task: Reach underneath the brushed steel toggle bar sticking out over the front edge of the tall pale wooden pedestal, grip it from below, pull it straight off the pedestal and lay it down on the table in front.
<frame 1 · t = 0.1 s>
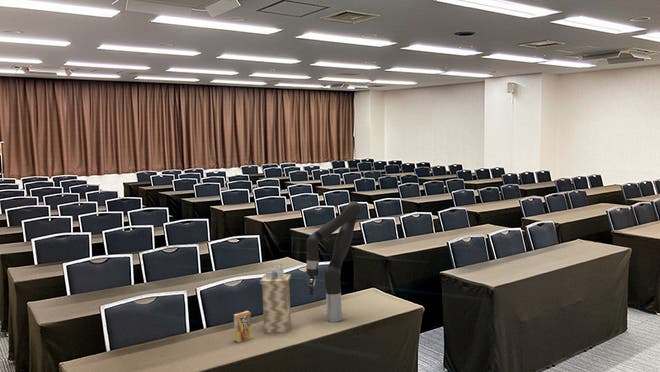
hand: (311, 292, 311), 17 cm above the table, tool pointing down, fingers open, 8 cm apart
candy box: (243, 339, 285), on the table
toggle bar: (277, 274, 304), point 31 cm above the table, touching pedestal
pedestal: (278, 328, 301), on the table
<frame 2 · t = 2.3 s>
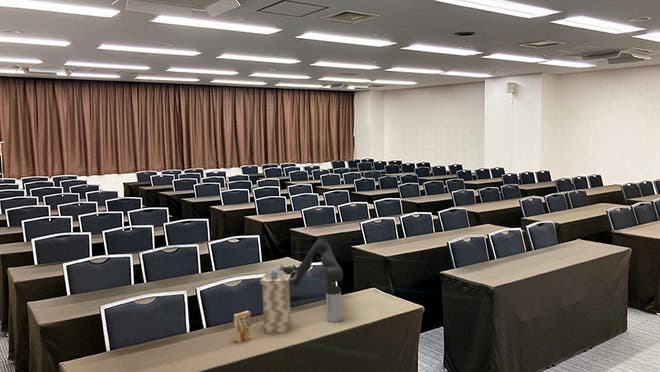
hand: (286, 266, 326), 30 cm above the table, tool pointing upward, fingers open, 8 cm apart
nothing on the table moved.
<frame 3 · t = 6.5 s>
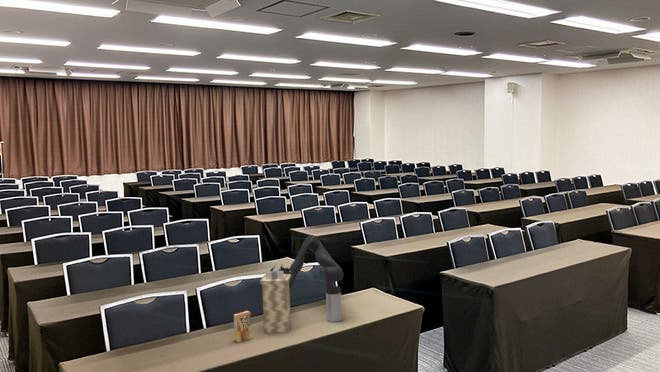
hand: (278, 267, 307), 34 cm above the table, tool pointing upward, fingers closed on toggle bar, 3 cm apart
toggle bar: (277, 274, 304), point 31 cm above the table, touching gripper, pedestal
everything else where it was.
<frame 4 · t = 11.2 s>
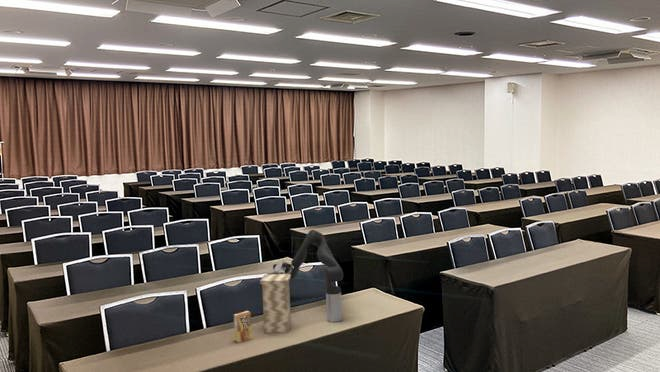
hand: (279, 265, 321), 33 cm above the table, tool pointing upward, fingers closed on toggle bar, 3 cm apart
toggle bar: (279, 272, 319), point 29 cm above the table, tilted 8°, touching gripper
everything else where it was.
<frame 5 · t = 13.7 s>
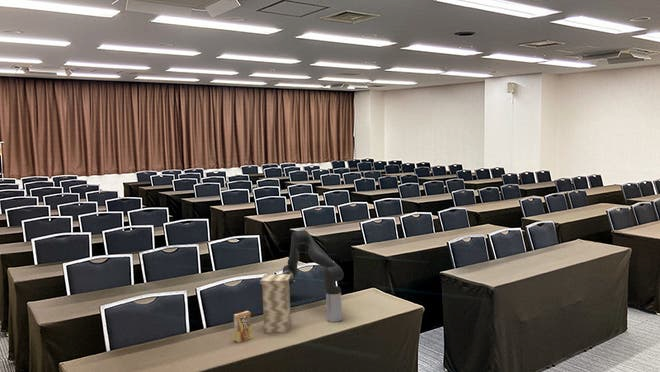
hand: (282, 284, 323), 20 cm above the table, tool horizontal, fingers closed on toggle bar, 3 cm apart
toggle bar: (282, 292, 322), point 15 cm above the table, tilted 31°, touching gripper
everything else where it was.
when the fingers open (11 cm above the table, at t = 15.9 s): toggle bar drops 6 cm, on the table.
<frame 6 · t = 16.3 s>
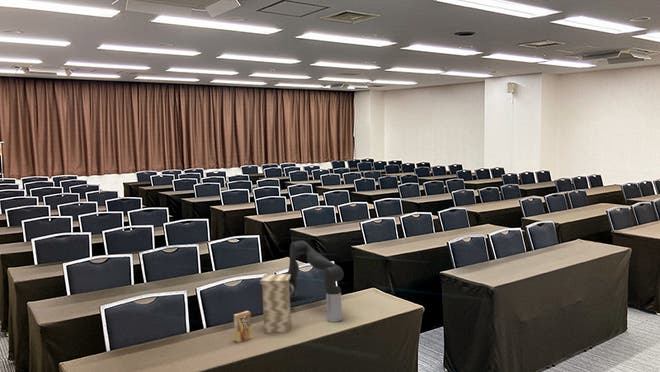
hand: (283, 297, 325), 11 cm above the table, tool horizontal, fingers open, 7 cm apart
toggle bar: (284, 314, 325), on the table
everything else where it was.
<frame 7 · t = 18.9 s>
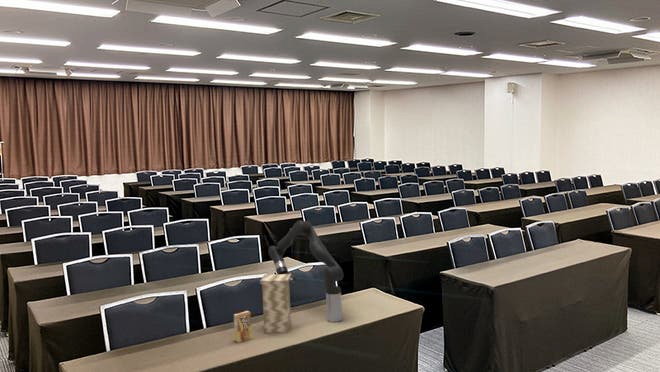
hand: (287, 288, 329), 16 cm above the table, tool tilted 55°, fingers open, 8 cm apart
nothing on the table moved.
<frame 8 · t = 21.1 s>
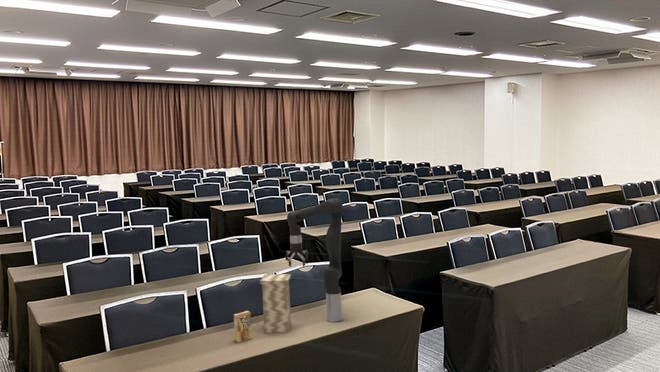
hand: (297, 266, 327), 30 cm above the table, tool pointing down, fingers open, 8 cm apart
at the end: toggle bar inside the target area (3.2 cm from its centre), on the table; toggle bar touching table; the gripper is holding nothing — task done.
